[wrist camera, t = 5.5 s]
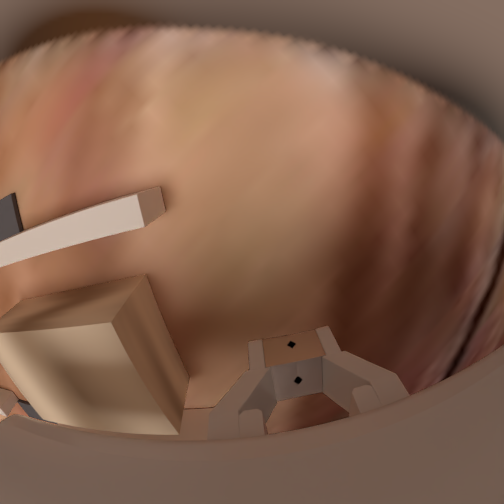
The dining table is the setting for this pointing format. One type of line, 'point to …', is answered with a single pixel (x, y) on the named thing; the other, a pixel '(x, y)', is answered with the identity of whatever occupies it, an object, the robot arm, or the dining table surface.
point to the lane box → (82, 230)
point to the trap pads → (3, 226)
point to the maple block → (97, 358)
